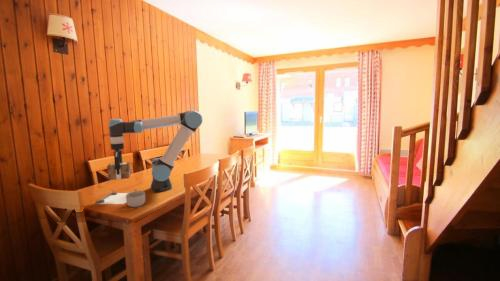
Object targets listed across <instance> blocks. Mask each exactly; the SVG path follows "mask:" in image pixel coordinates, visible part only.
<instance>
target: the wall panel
mask: <svg viewBox="0 0 500 281" xmlns="http://www.w3.org/2000/svg"><path fill="white" fill-rule="evenodd" d="M127 194H128V192H117V191H114V190H112V191H110V192H109V193H107V194H105V195H104V196H103V197H100V198H99V199H97V200H96V201H95V202H94V203H95V205H125V204H127V200H126V195H127Z"/></svg>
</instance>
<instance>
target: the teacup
mask: <svg viewBox="0 0 500 281" xmlns="http://www.w3.org/2000/svg"><path fill="white" fill-rule="evenodd" d="M127 193H128V192H127ZM126 200H127V202H126V204H127V206H128V207H131V208H138V207H139V208H140V207H141V206H143V205H144V204H145V203H146V192H145V191H143V190H134V191H130V192H129V193H128V194H127V195H126Z"/></svg>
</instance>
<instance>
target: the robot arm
mask: <svg viewBox="0 0 500 281" xmlns="http://www.w3.org/2000/svg"><path fill="white" fill-rule="evenodd" d="M202 123H203V116H202V114H201V113H200V112H199V111H197V110H187V111H184V112H183V111H182V112H179V113H177V114H173V115H166V116H159V117H153V118H152V117H151V118H146V119H145V118H143V119H137V120H131V121H123V120H122V119H121V118H110V119H109V120H108V129H109V137H110V138H109V140H110V150H112V151H113V150H114V152H113V155H114V156H113V157H114V163H115V169H114V170H116V180H122V179H121V169H120V163H124V162H123V154H122V153H123V152H122V150H123V149H124V148H125V145H124V142H125V141H124V135H125V134H141V133H143V131H147V130H153V129H154V130H155V129H160V128H161V129H162V128H167V127H173V126H175V127H176V126H180V128H179V130H178V131H177V132H176V133H175V135H174V137H173V139H172V141H171V142H170V144H169V145H168V148H166V150H165V152H164V153H163V156H161V157H159V158H152V159H151V175H152V181H151V182H150V183H151V184H150V190H151V191H152V192H157V193H158V192H166V191H169V190H171V189H172V188H173V183H172V182H171V179H170V176H171V173H172V171H173V169H174V168H175V161H176V160H177V158H178V156H179V155H180V153H181V151H182V150H183V148H184V147H185V144H186V143H187V142H188V140H189V139H190V136H191V135H192V134H194V133H196V131H197V129H198V128H199V127H200V126H201V125H202Z"/></svg>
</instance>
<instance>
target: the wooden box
mask: <svg viewBox="0 0 500 281" xmlns="http://www.w3.org/2000/svg"><path fill="white" fill-rule="evenodd" d="M106 168H107V180H108V181H116V180H117V179H116V170H114V169H115V162H114V163H109V164H108V165H107V166H106ZM120 169H121V179H120V180H125V179H130V177H131V162H130V161H129V162H128V161H126V162H123V163H120Z"/></svg>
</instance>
